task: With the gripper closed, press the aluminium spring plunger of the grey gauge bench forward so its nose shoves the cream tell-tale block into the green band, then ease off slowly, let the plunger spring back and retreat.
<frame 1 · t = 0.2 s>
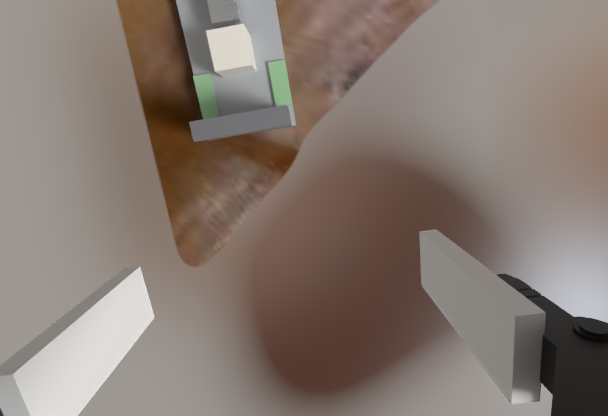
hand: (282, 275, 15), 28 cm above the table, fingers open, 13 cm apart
gauge bench: (237, 52, 37), on the table
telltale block: (236, 56, 36), point 1 cm above the table, touching gauge bench
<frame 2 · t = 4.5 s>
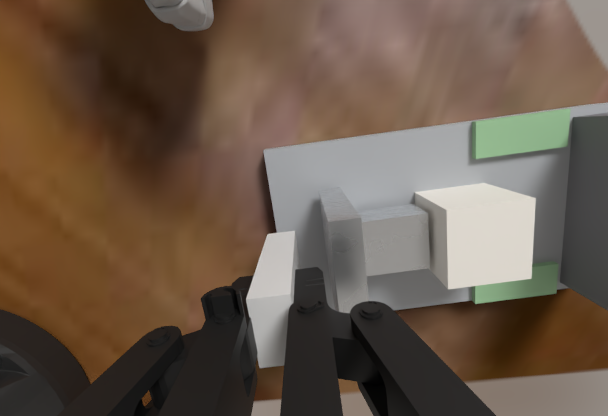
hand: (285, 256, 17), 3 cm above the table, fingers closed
gauge bench: (429, 216, 19), on the table
plunger: (383, 255, 15), point 5 cm above the table, slide at 0.7 cm, touching gripper
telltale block: (449, 220, 18), point 1 cm above the table, touching gauge bench
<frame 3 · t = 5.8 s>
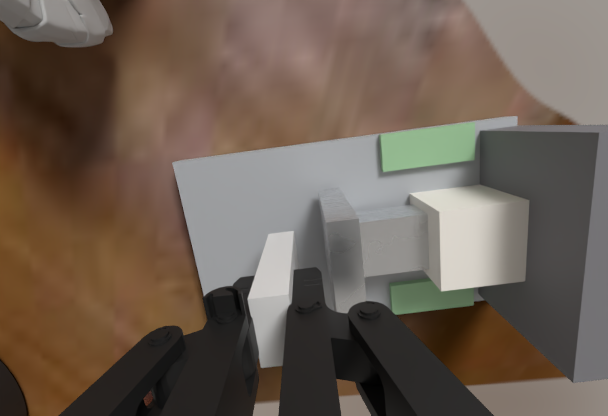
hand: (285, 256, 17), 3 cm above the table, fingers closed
gauge bench: (348, 227, 20), on the table
plunger: (382, 256, 15), point 5 cm above the table, slide at 5.8 cm, touching gripper, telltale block
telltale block: (445, 222, 18), point 1 cm above the table, touching gauge bench, plunger
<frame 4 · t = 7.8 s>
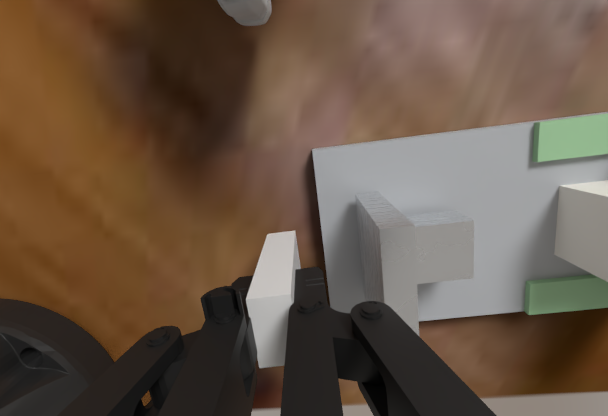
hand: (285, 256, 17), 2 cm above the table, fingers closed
gauge bench: (480, 221, 19), on the table
plunger: (426, 264, 14), point 5 cm above the table, slide at 0.0 cm
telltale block: (594, 217, 17), point 1 cm above the table, touching gauge bench
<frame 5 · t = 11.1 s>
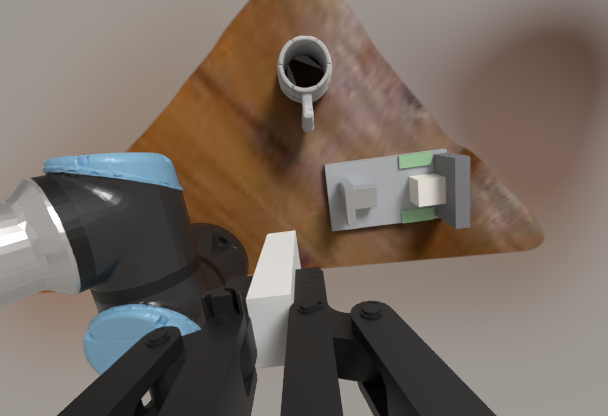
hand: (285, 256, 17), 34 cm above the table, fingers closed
gauge bench: (385, 190, 51), on the table
mug: (305, 91, 47), on the table
plunger: (361, 200, 46), point 5 cm above the table, slide at 0.0 cm
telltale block: (422, 187, 50), point 1 cm above the table, touching gauge bench
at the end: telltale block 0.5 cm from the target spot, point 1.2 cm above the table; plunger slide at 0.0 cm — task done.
